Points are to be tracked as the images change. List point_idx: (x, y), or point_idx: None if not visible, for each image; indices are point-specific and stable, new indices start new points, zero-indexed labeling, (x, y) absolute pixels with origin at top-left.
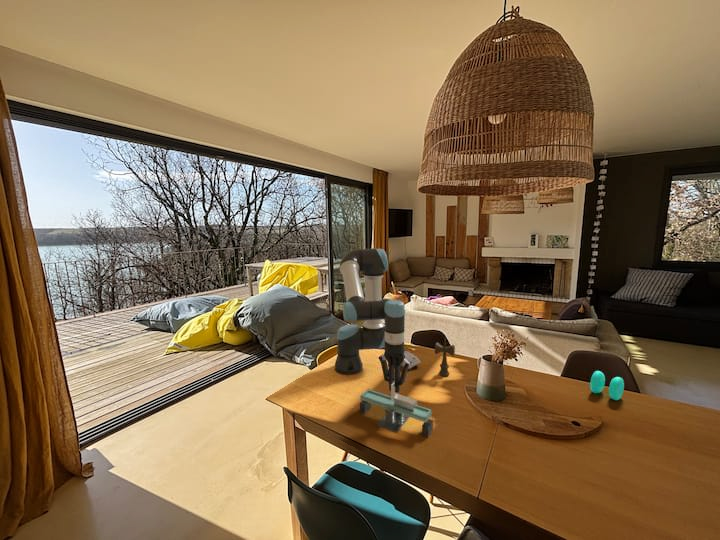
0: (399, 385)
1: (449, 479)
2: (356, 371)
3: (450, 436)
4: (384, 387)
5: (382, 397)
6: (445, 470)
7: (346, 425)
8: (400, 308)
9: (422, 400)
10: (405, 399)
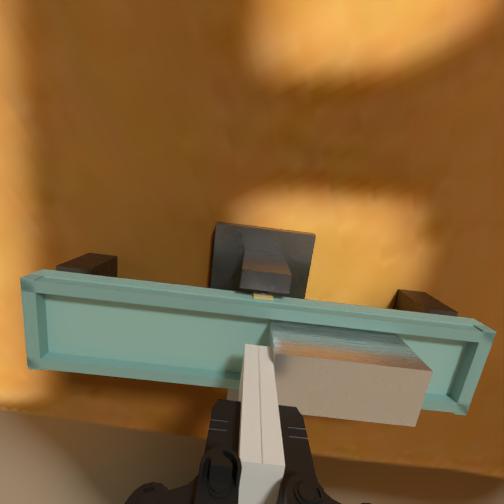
0: (313, 469)
1: (485, 472)
2: None
3: (497, 301)
4: (77, 14)
5: (159, 310)
6: (474, 450)
7: (94, 399)
8: None
9: (344, 66)
10: (347, 395)
